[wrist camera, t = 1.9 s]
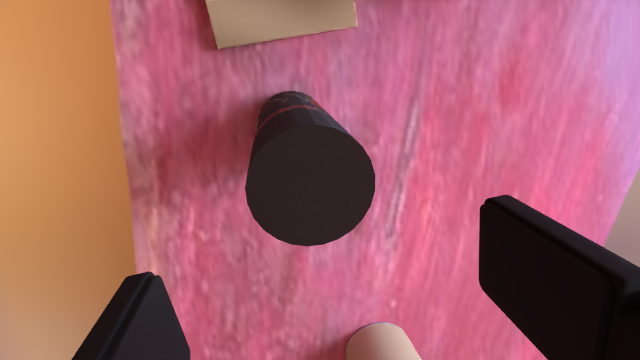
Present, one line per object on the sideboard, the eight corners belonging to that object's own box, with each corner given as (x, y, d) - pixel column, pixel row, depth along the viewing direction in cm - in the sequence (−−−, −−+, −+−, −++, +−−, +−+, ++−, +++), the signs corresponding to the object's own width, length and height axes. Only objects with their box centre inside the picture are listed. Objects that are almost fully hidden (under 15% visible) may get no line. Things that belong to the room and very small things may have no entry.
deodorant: (249, 98, 28) (229, 141, 14) (318, 84, 28) (366, 111, 14) (266, 164, 30) (263, 258, 16) (330, 150, 30) (382, 230, 16)
